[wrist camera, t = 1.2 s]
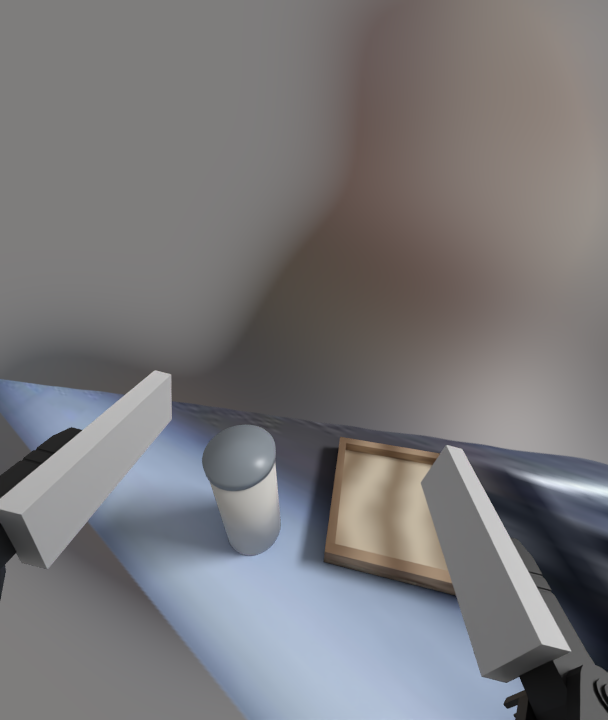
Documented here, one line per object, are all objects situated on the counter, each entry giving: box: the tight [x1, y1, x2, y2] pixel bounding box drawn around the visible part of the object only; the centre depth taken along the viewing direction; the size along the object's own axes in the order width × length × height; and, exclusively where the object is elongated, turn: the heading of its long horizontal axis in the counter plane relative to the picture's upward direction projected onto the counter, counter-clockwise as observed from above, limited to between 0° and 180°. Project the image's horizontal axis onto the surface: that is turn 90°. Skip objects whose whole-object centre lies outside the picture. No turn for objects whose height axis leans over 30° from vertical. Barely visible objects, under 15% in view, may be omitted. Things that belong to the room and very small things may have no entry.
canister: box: [202, 425, 281, 556], centre depth 29 cm, size 7×7×14 cm
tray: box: [324, 437, 456, 595], centre depth 34 cm, size 16×16×2 cm
